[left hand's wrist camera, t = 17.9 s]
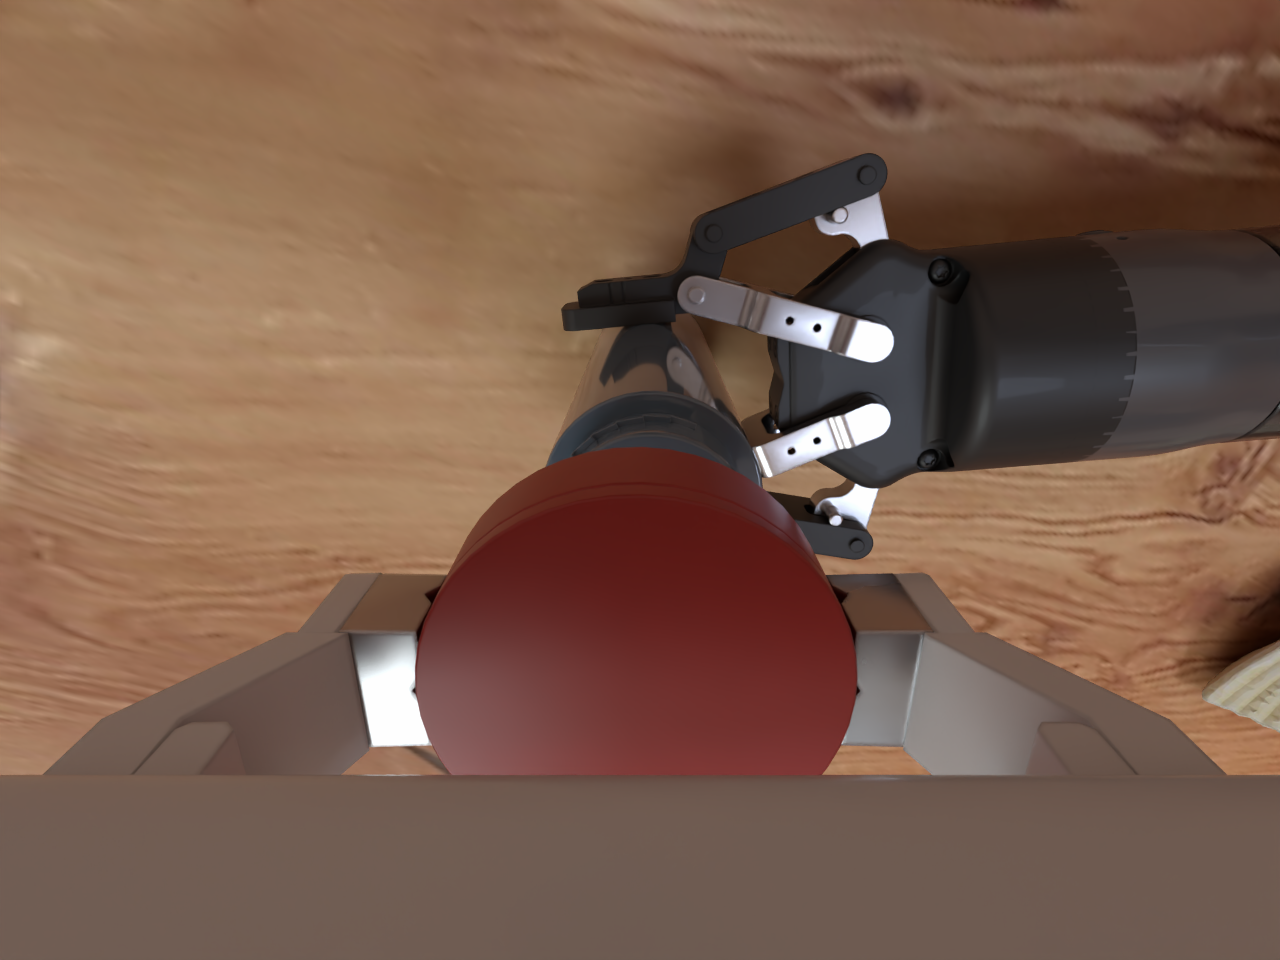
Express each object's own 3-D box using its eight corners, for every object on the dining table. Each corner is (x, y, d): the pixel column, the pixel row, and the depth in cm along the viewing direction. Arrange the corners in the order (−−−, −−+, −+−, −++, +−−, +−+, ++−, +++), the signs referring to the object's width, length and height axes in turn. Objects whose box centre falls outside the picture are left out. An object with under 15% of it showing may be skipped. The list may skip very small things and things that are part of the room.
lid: (748, 797, 11) (766, 892, 10) (419, 723, 11) (381, 810, 9) (885, 507, 9) (934, 567, 8) (492, 396, 9) (460, 436, 7)
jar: (598, 295, 29) (527, 405, 12) (709, 299, 29) (788, 416, 12) (597, 402, 31) (532, 627, 14) (701, 406, 31) (761, 636, 14)
